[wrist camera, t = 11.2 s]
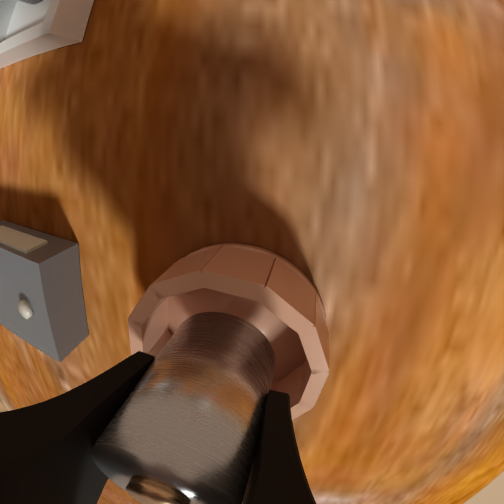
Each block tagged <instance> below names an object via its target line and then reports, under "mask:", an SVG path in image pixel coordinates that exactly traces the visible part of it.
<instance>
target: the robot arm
mask: <svg viewBox="0 0 504 504" xmlns="http://www.w3.org/2000/svg"><path fill="white" fill-rule="evenodd" d="M154 360H155V356H153V355H150V354H147V353H144V352H142V351H138V352H136V353H135V354H133V355H131V356H130V357H128V358H126V359H125V360H123V361H122V362H120V363H118V364H117V365H115V366H114V367H112V368H110V369H109V370H107V371H105V372H104V373H102V374H100V375H98V376H97V377H95V378H93V379H91V380H90V381H88V382H86V383H84V384H82V385H80V386H78V387H76V388H74V389H72V390H70V391H68V392H66V393H64V394H61V395H59V396H57V397H54V398H52V399H49V400H47V401H44V402H41V403H38V404H35V405H31V406H28V407H24V408H20V409H16V410H12V411H6V412H0V504H97V501H98V499H99V497H100V495H101V493H102V490H103V488H104V486H105V484H106V482H107V480H108V477H107V476H106V475H105V474H104V473H103V472H102V471H101V470H100V469H99V468H98V466H97V465H96V464H95V462H94V460H93V459H92V456H91V449H92V447H93V446H94V444H95V443H96V441H97V440H98V439H99V437H100V436H101V434H102V433H103V431H104V430H105V429H106V427H107V426H108V424H109V423H110V421H111V420H112V419H113V417H114V416H115V414H116V413H117V412H118V410H119V409H120V407H121V406H122V405H123V403H124V402H125V400H126V399H127V398H128V396H129V395H130V393H131V392H132V391H133V389H134V388H135V386H136V385H137V384H138V382H139V381H140V379H141V378H142V377H143V375H144V374H145V372H146V371H147V370H148V368H149V367H150V366H151V364H152V363H153V361H154ZM242 504H316V502H315V500H314V497H313V495H312V492H311V490H310V487H309V484H308V482H307V479H306V476H305V473H304V469H303V466H302V463H301V459H300V455H299V451H298V447H297V443H296V439H295V434H294V429H293V423H292V416H291V407H290V396H289V394H288V393H284V392H279V391H274V390H270V389H269V392H268V395H267V400H266V404H265V408H264V412H263V417H262V423H261V429H260V434H259V439H258V444H257V448H256V452H255V456H254V460H253V464H252V468H251V472H250V476H249V480H248V483H247V487H246V491H245V495H244V498H243V503H242Z"/></svg>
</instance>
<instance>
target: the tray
mask: <svg viewBox="0 0 504 504" xmlns="http://www.w3.org/2000/svg"><path fill="white" fill-rule="evenodd" d="M93 2H94V0H43V1H42V2H40V3H38V4H34V5H31V4H28V3H24V2H21V1H18V0H0V69H1V68H3V67H6V66H8V65H11V64H13V63H16V62H18V61H21V60H24V59H26V58H29V57H32V56H35V55H38V54H41V53H44V52H47V51H50V50H54V49H57V48H61V47H64V46H68V45H72V44H76V43H80V42H82V41H83V37H84V33H85V29H86V25H87V22H88V18H89V15H90V12H91V9H92V5H93Z"/></svg>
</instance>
